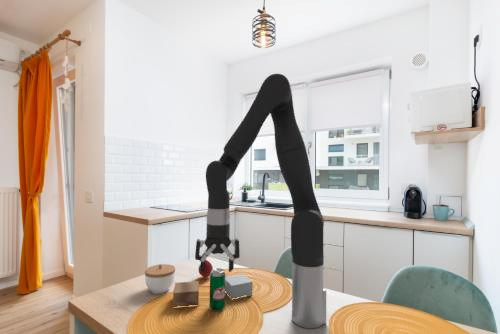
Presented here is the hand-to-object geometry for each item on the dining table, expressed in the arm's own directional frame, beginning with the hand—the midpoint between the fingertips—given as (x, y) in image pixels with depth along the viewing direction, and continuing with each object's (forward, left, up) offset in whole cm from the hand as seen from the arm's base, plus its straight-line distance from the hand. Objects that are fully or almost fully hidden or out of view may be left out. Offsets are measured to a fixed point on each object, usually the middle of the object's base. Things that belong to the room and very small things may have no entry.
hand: (217, 271), depth 86 cm
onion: (+3, -25, -12) cm, 28 cm away
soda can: (0, 0, -12) cm, 12 cm away
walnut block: (+10, -6, -12) cm, 16 cm away
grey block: (-8, -9, -12) cm, 17 cm away
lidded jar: (+20, -17, -12) cm, 29 cm away
